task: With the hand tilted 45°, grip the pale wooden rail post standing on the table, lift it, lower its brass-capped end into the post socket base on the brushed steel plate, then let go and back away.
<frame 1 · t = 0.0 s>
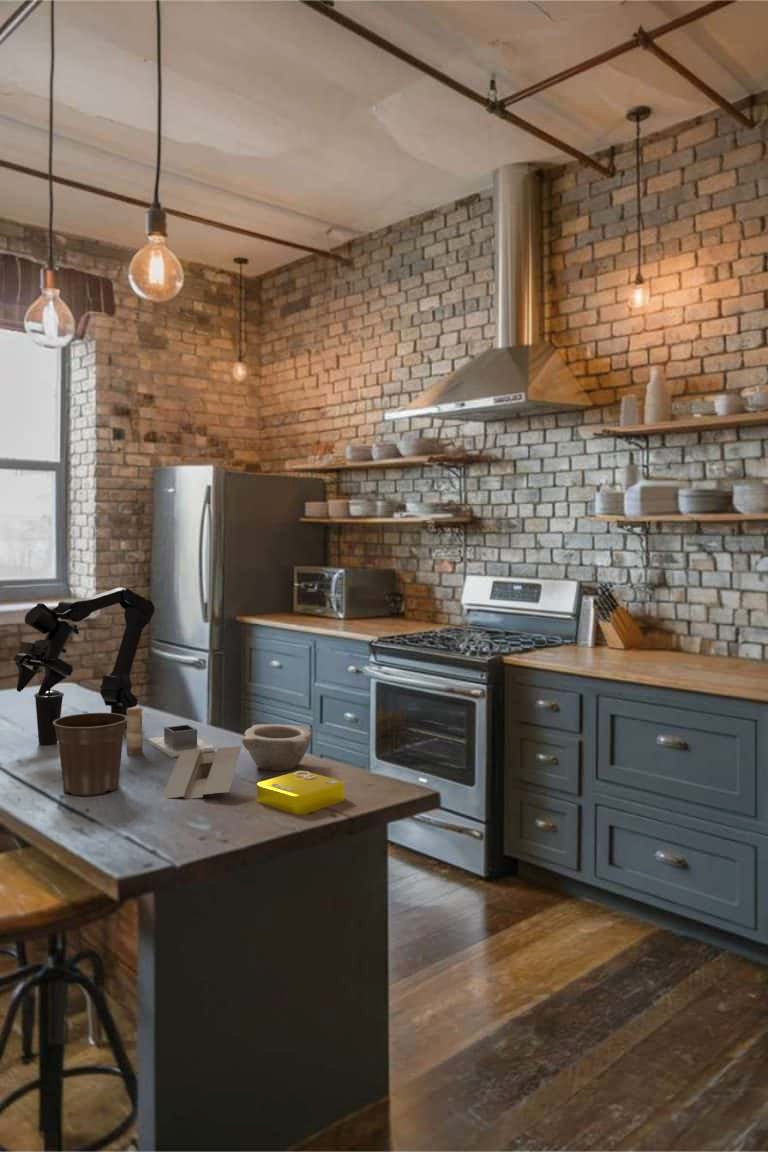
hand: (28, 693, 233), 15 cm above the countertop, tool tilted 35°, fingers open, 9 cm apart
mortar: (278, 767, 219), on the countertop
element tile: (300, 802, 192), on the countertop
rail post: (134, 753, 230), on the countertop
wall: (203, 792, 198), on the countertop
post socket base: (180, 747, 237), on the countertop
plant pot: (91, 789, 199), on the countertop
drinking cup: (48, 743, 239), on the countertop
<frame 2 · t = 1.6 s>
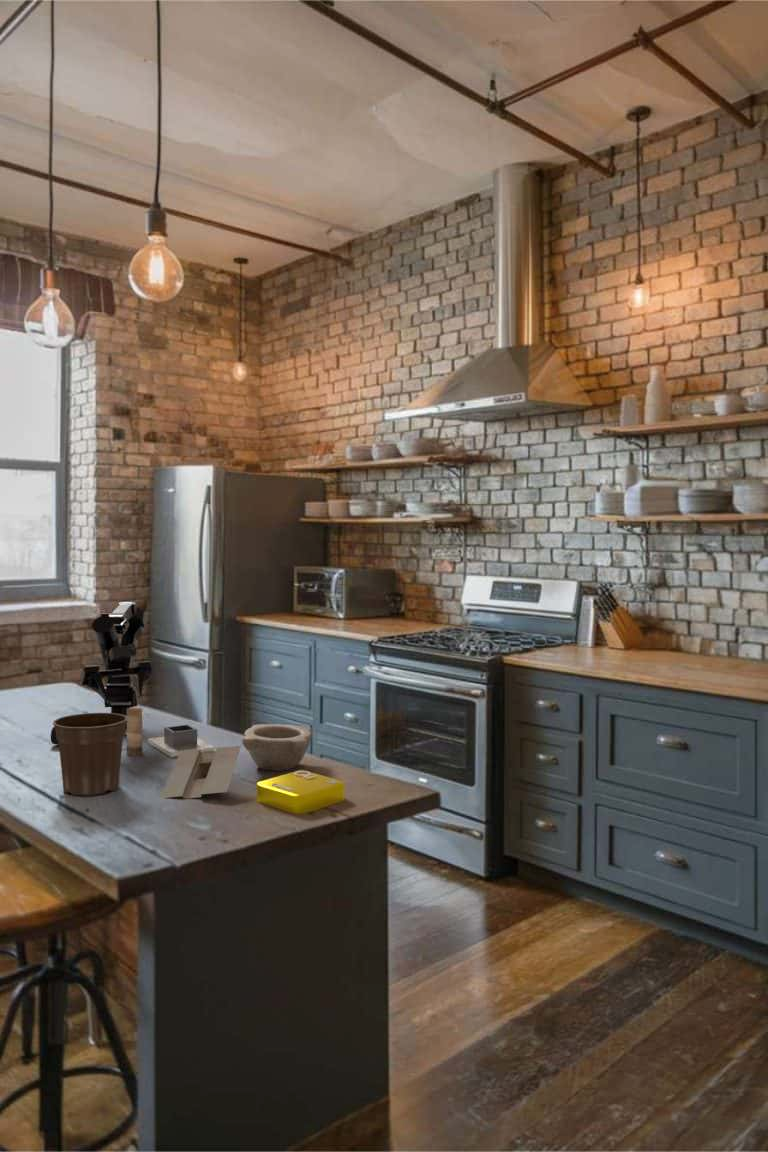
hand: (123, 698, 235), 13 cm above the countertop, tool tilted 45°, fingers open, 9 cm apart
drinking cup: (53, 735, 237), point 3 cm above the countertop
everything else where it was.
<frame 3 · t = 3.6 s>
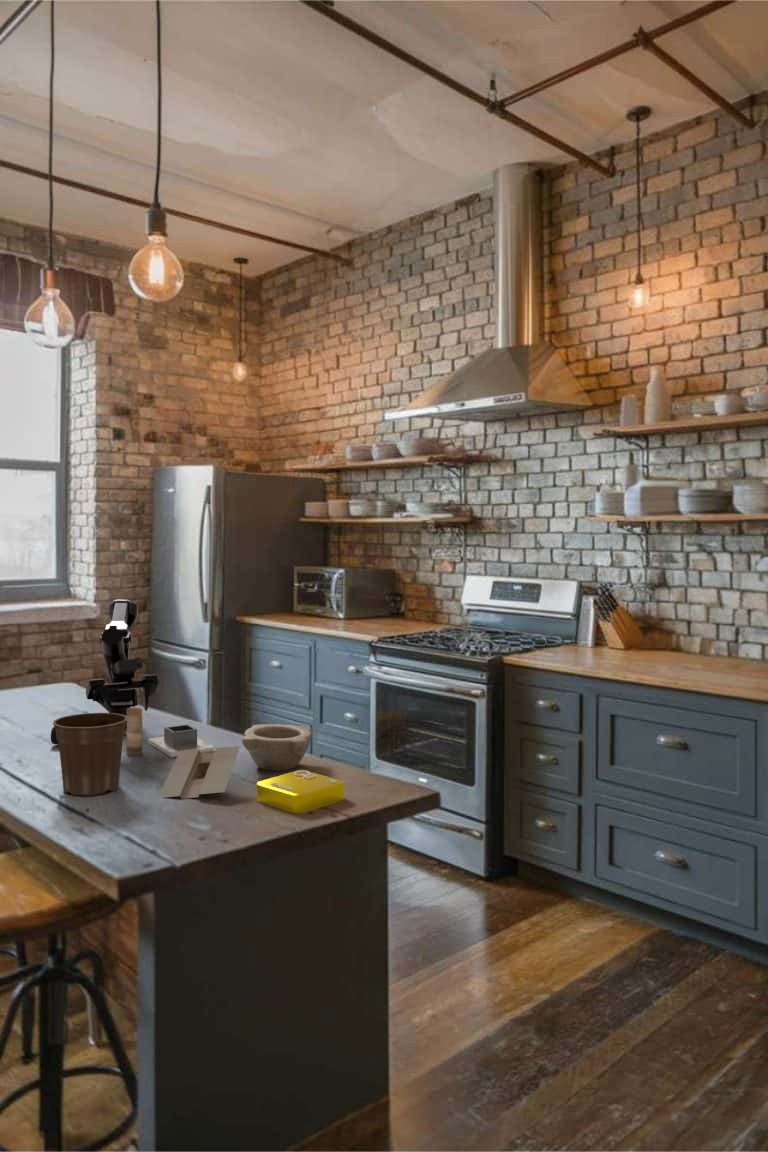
hand: (129, 712, 232), 10 cm above the countertop, tool tilted 45°, fingers open, 9 cm apart
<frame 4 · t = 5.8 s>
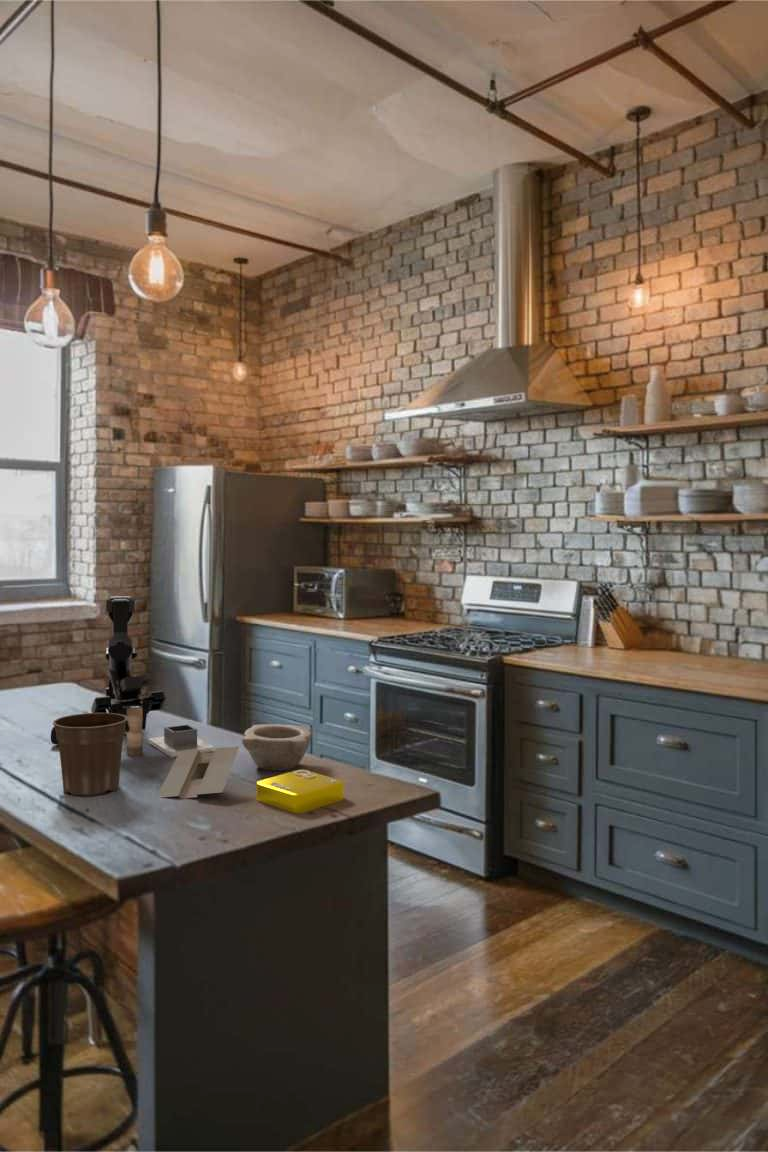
hand: (136, 730, 228), 7 cm above the countertop, tool tilted 45°, fingers closed on rail post, 4 cm apart
rail post: (134, 753, 230), on the countertop, touching gripper
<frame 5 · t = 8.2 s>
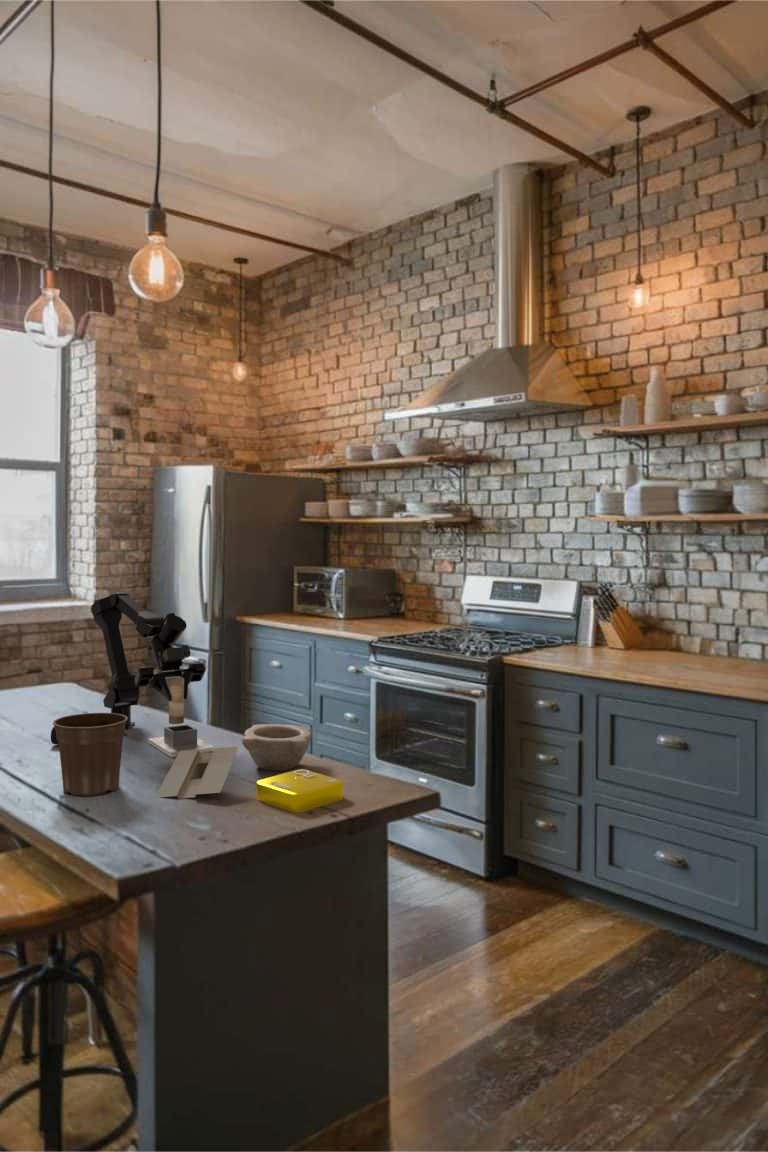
hand: (178, 699, 234), 14 cm above the countertop, tool tilted 45°, fingers closed on rail post, 4 cm apart
rail post: (176, 722, 236), point 7 cm above the countertop, touching gripper
when the fingers open (9 cm above the countertop, at t = 10.7 s): rail post stays where it is, resting on post socket base.
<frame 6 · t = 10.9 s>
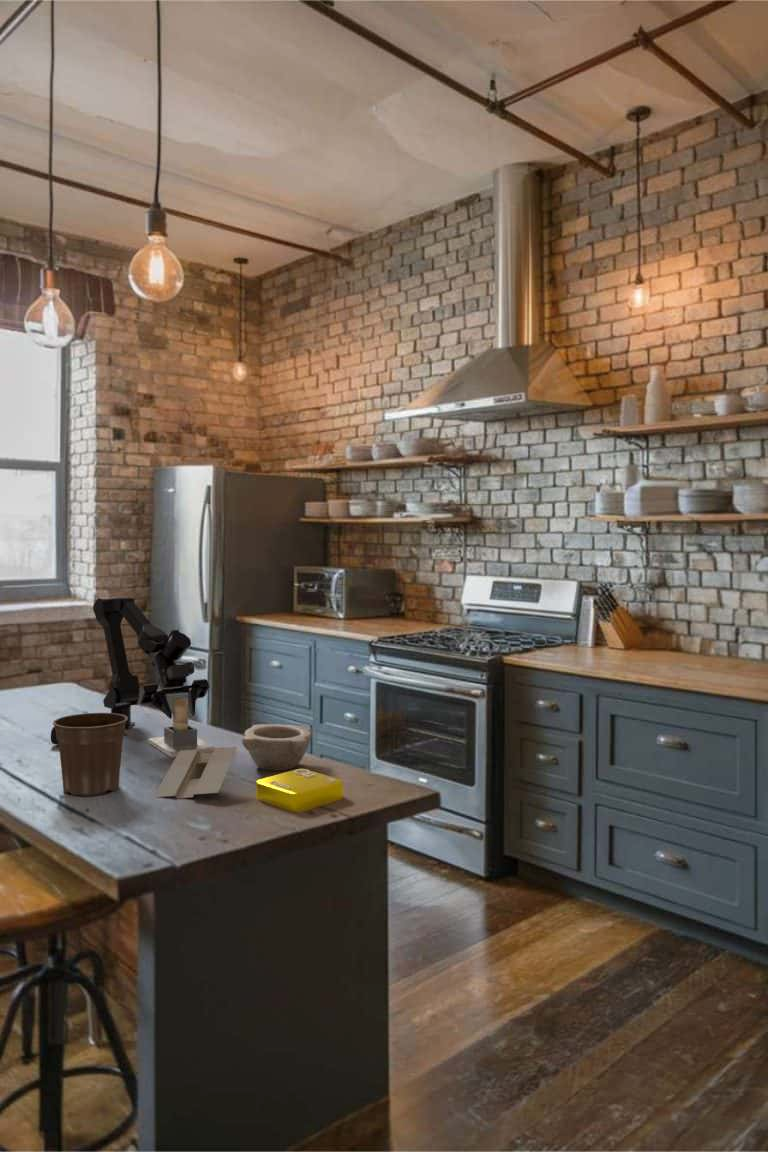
hand: (182, 716, 235), 9 cm above the countertop, tool tilted 45°, fingers open, 6 cm apart
rail post: (180, 742, 237), point 1 cm above the countertop, touching post socket base
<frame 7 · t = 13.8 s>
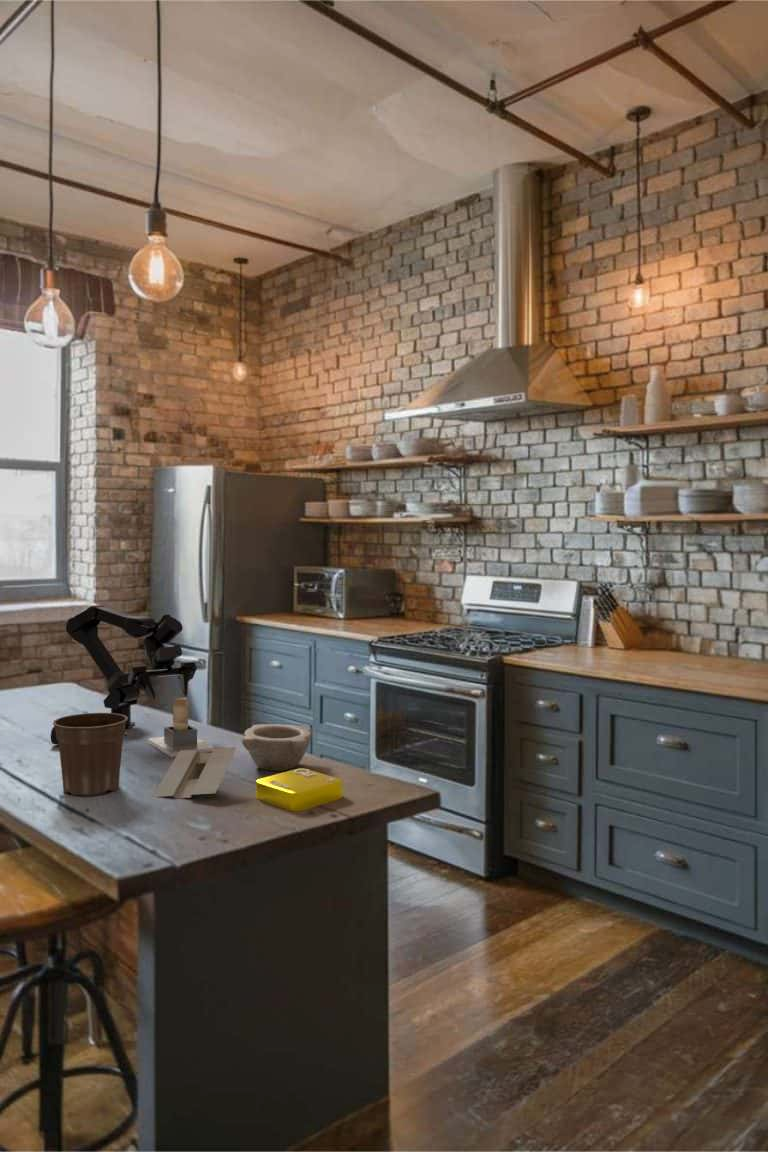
hand: (170, 697, 243), 12 cm above the countertop, tool tilted 45°, fingers open, 9 cm apart
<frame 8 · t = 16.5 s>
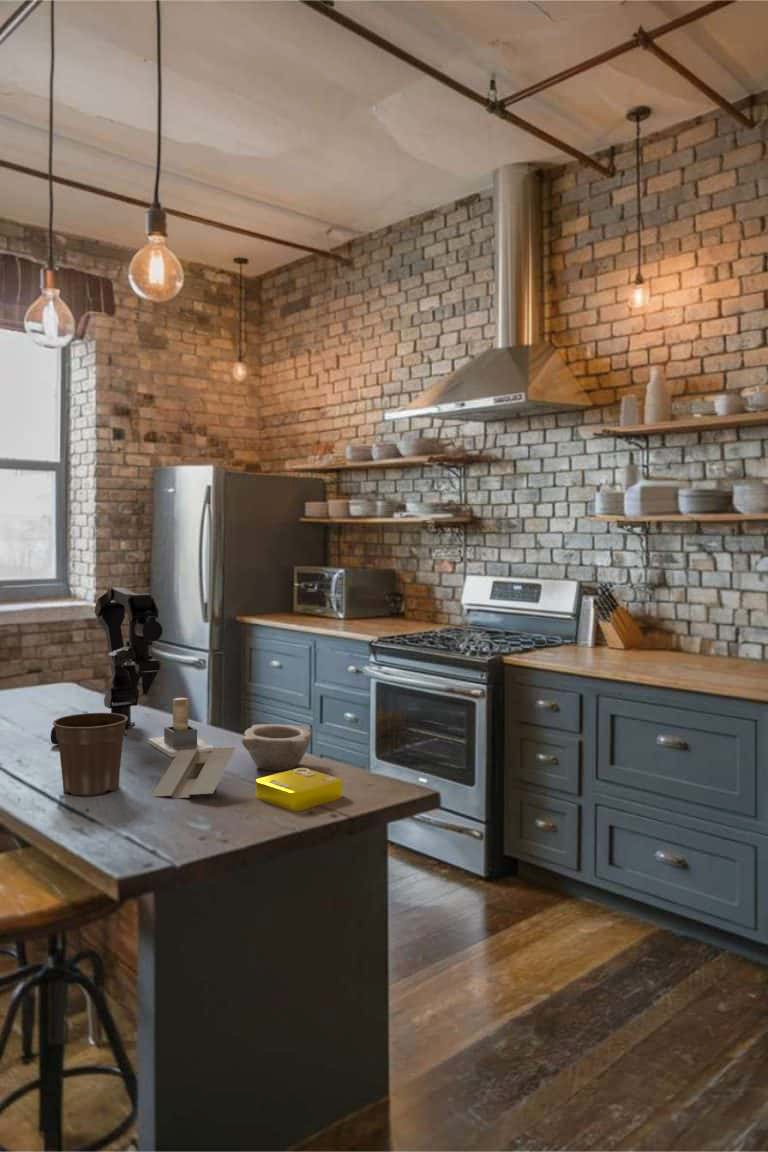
hand: (139, 691, 247), 13 cm above the countertop, tool pointing down, fingers open, 9 cm apart
at the end: rail post 0.1 cm off-centre on the post socket base, point 1.2 cm above the post socket base's base; rail post tilted 0°; the gripper is holding nothing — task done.
